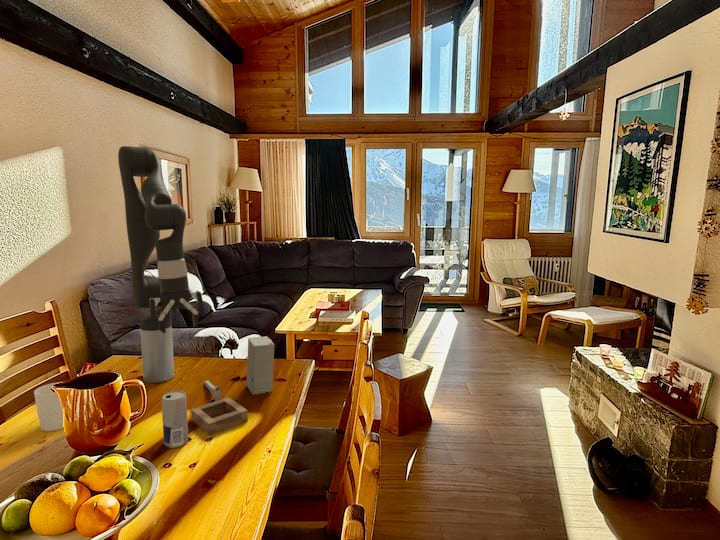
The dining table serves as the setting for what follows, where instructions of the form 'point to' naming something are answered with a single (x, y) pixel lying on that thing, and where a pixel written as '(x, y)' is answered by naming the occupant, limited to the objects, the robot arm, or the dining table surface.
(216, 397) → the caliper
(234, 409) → the square open tray
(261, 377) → the skincare box
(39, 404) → the white cup
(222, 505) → the dining table surface
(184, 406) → the energy drink
